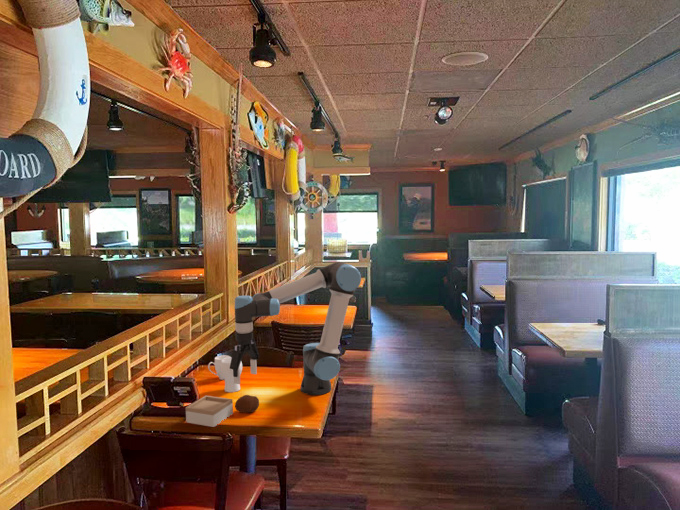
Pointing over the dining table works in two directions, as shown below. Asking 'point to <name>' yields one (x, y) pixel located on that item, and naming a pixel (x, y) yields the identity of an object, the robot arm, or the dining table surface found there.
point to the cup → (229, 375)
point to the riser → (209, 411)
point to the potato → (247, 404)
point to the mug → (218, 365)
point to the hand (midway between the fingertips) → (245, 378)
